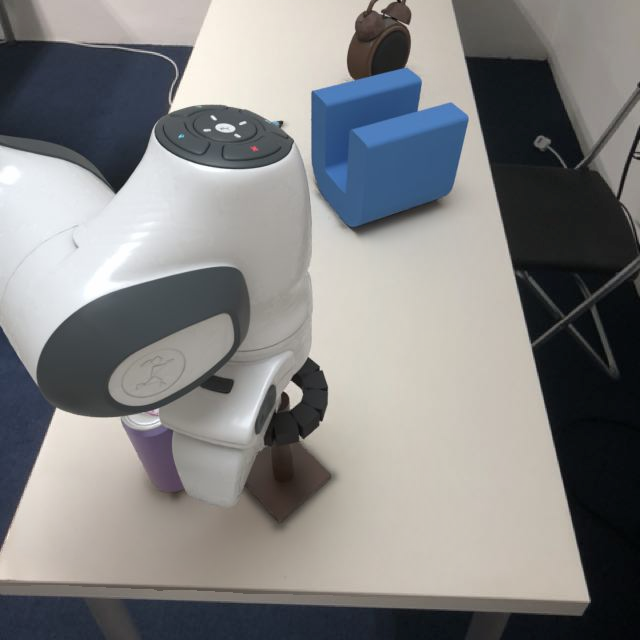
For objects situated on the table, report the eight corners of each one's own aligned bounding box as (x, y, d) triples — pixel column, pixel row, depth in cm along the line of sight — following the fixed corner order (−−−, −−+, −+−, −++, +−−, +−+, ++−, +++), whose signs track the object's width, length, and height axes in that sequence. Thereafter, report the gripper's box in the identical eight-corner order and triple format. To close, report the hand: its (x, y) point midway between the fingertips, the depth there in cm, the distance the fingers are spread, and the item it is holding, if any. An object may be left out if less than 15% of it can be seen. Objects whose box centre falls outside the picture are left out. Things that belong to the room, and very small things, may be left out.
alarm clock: (365, 107, 122) (373, 8, 107) (342, 94, 126) (347, -3, 111) (411, 85, 129) (424, -11, 114) (388, 73, 132) (398, -21, 117)
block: (447, 210, 100) (469, 116, 87) (359, 240, 95) (367, 146, 81) (393, 157, 111) (405, 66, 97) (311, 182, 105) (311, 89, 91)
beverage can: (186, 501, 66) (159, 438, 54) (140, 485, 67) (105, 420, 55) (209, 456, 69) (188, 389, 58) (165, 442, 70) (137, 373, 59)
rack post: (280, 523, 64) (272, 453, 51) (236, 475, 68) (218, 398, 55) (331, 478, 68) (335, 401, 55) (286, 434, 71) (281, 353, 58)
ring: (273, 466, 50) (271, 454, 49) (206, 401, 55) (203, 388, 53) (347, 402, 55) (348, 389, 53) (280, 346, 59) (279, 332, 58)
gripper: (259, 227, 48) (269, 331, 58) (143, 435, 35) (182, 520, 46) (332, 242, 47) (328, 345, 57) (239, 463, 34) (256, 543, 44)
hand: (262, 424), depth 51 cm, fingers closed on ring, 2 cm apart
